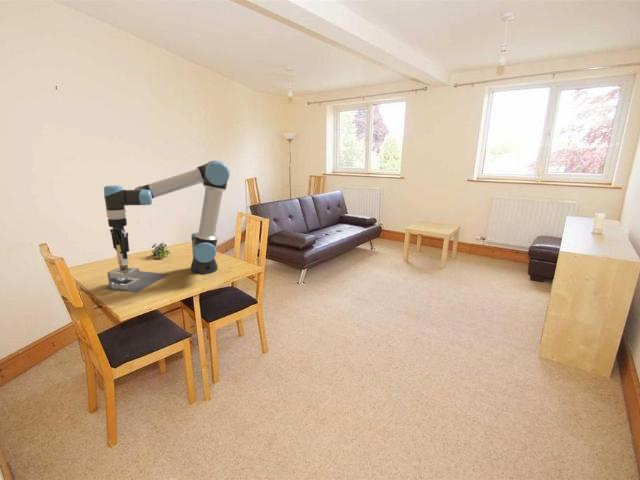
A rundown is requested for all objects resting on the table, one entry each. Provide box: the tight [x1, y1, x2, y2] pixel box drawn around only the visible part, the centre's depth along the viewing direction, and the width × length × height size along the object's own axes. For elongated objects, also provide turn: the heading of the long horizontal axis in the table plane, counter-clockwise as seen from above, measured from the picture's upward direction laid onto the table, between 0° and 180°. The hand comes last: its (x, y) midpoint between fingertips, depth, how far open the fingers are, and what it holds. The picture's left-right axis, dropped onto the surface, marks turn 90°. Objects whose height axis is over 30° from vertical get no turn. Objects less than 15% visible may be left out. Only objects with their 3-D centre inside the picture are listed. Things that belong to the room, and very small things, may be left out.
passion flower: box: [151, 241, 171, 260], centre depth 204 cm, size 11×11×12 cm
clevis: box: [107, 266, 141, 290], centre depth 157 cm, size 10×9×8 cm
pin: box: [116, 244, 129, 271], centre depth 154 cm, size 4×4×13 cm
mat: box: [103, 270, 170, 293], centre depth 165 cm, size 19×25×1 cm
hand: (123, 263), depth 155 cm, fingers closed on pin, 3 cm apart
